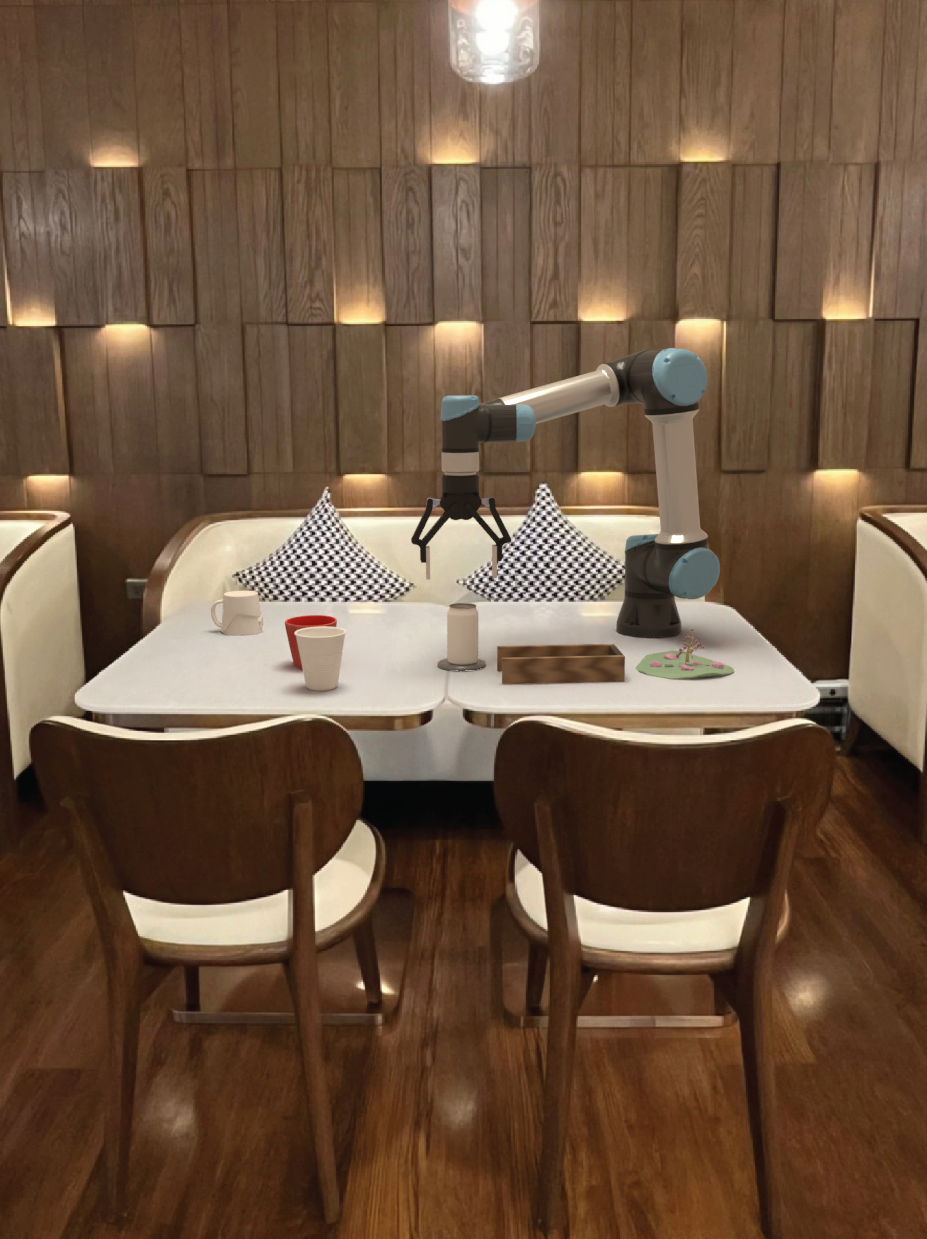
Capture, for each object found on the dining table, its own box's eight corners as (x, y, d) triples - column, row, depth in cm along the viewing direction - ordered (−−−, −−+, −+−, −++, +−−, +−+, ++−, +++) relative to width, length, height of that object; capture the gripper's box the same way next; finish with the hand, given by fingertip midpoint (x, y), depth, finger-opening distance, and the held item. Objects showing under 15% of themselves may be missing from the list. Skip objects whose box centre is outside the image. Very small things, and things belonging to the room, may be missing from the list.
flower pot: (297, 674, 233) (295, 627, 231) (279, 663, 242) (277, 617, 240) (346, 668, 237) (344, 622, 236) (326, 657, 247) (325, 612, 245)
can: (471, 667, 235) (471, 609, 233) (442, 664, 237) (442, 607, 235) (482, 660, 241) (483, 603, 238) (454, 657, 243) (454, 601, 241)
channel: (613, 667, 236) (613, 643, 235) (624, 681, 225) (624, 656, 224) (497, 669, 235) (497, 646, 234) (502, 684, 224) (502, 659, 223)
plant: (613, 656, 248) (614, 615, 247) (703, 651, 252) (704, 611, 251) (654, 685, 224) (655, 640, 223) (753, 679, 228) (755, 635, 227)
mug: (264, 590, 275) (256, 596, 267) (266, 628, 276) (258, 635, 269) (215, 590, 275) (205, 596, 267) (217, 628, 277) (207, 635, 269)
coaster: (483, 659, 244) (483, 656, 244) (487, 670, 234) (487, 668, 234) (436, 660, 243) (436, 657, 243) (438, 671, 234) (438, 669, 233)
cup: (297, 681, 227) (295, 626, 225) (348, 680, 228) (346, 625, 225) (294, 694, 217) (292, 637, 215) (347, 693, 218) (345, 636, 216)
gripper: (520, 471, 235) (520, 573, 240) (398, 473, 234) (400, 576, 238) (524, 474, 228) (524, 579, 232) (398, 475, 226) (400, 582, 231)
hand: (461, 578), depth 235 cm, fingers open, 13 cm apart
